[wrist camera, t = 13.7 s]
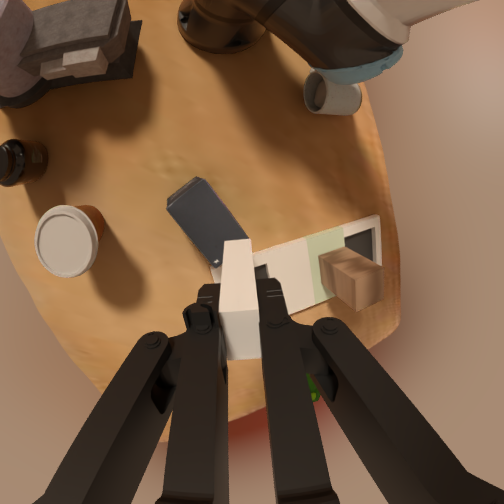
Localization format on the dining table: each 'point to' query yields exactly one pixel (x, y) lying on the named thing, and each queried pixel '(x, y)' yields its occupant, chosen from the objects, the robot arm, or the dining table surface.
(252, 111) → the dining table surface
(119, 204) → the dining table surface
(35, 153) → the supplement bottle
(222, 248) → the small box
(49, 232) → the disposable coffee cup
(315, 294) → the trap board
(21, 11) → the juicer
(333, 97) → the ceramic mug
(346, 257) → the walnut block
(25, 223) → the dining table surface
